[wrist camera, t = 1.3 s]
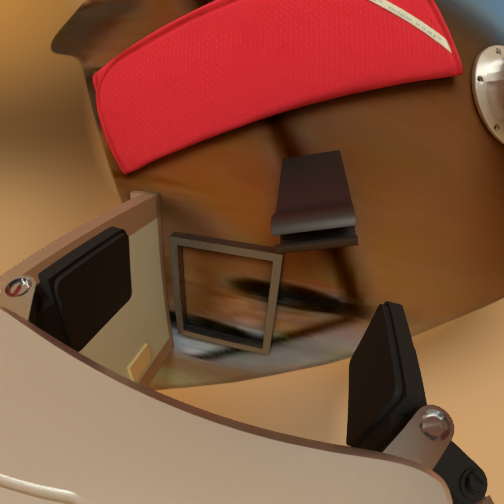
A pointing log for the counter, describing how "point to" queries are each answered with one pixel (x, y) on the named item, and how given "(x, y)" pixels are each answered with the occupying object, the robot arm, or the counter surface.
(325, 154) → the phone stand
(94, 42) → the counter surface
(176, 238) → the grey flat square frame
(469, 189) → the counter surface
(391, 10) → the dish drying mat
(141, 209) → the tan picture frame
